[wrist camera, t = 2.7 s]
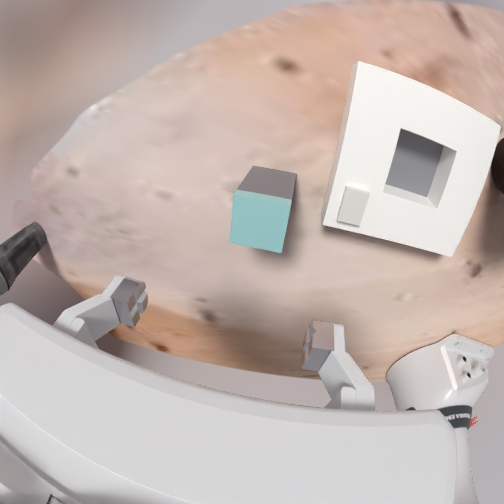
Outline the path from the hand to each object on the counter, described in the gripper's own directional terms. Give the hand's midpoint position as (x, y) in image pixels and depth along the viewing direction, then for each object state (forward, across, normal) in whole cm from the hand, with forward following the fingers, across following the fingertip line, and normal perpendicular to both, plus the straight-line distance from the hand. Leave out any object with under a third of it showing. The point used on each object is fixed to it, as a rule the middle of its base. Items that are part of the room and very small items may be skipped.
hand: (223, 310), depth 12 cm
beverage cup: (+17, +38, +14) cm, 44 cm away
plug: (+16, 0, 0) cm, 16 cm away
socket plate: (+15, -12, -6) cm, 21 cm away
